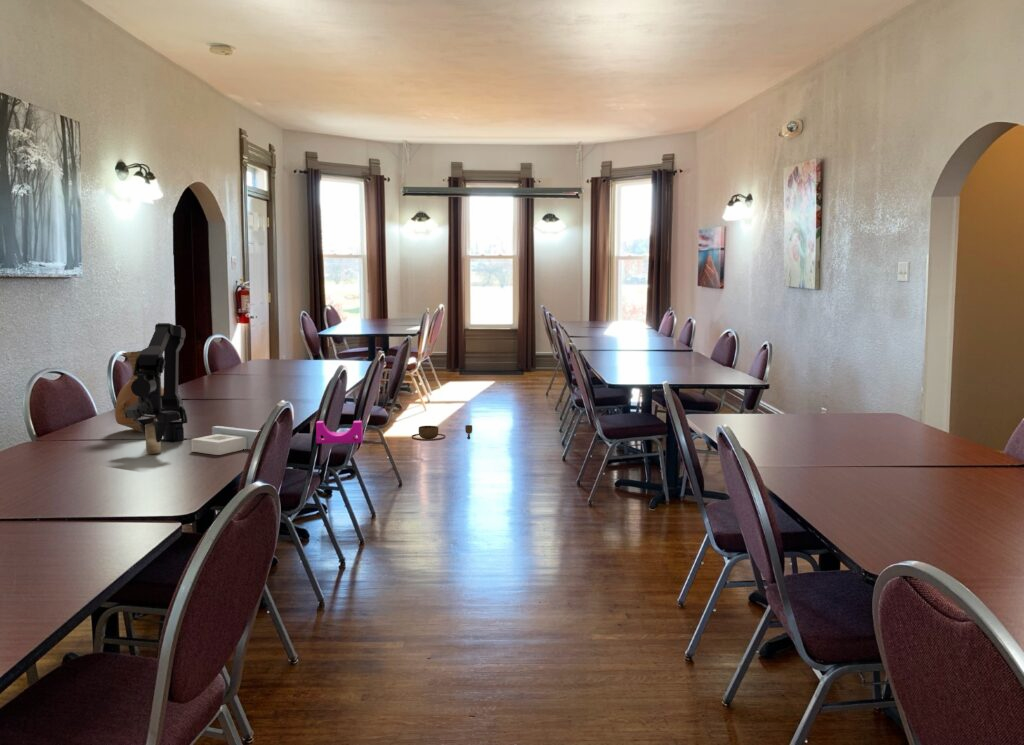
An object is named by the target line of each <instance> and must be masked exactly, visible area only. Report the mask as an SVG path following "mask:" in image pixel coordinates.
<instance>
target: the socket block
mask: <svg viewBox="0 0 1024 745" xmlns="http://www.w3.org/2000/svg"><path fill="white" fill-rule="evenodd" d="M190 441H191V452H192V453H193V452H195V453H200V454H209V455H214V456H221V455H225V454H230V453H234V452H238V451H243V449H244V450H248V449H247V437H245V436H236V435H228V434H215V435H212V434H211V435H206V436H202V437H196V438H192V439H191V440H190Z"/></svg>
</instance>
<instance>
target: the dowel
mask: <svg viewBox="0 0 1024 745" xmlns="http://www.w3.org/2000/svg"><path fill="white" fill-rule="evenodd" d="M145 436H146V438H145V448H146V449H145V451H146V454H148V455H149V454H150V455H152V454H153V455H154V454H161V453H162V441H160V442H157V440H156V433H155V426H154V425H153V424H152V423H150V424H145ZM145 436H144V437H145Z"/></svg>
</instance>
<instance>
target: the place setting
mask: <svg viewBox="0 0 1024 745" xmlns="http://www.w3.org/2000/svg"><path fill="white" fill-rule="evenodd" d="M464 429H465V433H466V434H467V437H466V438H467V440H470V439H471V434H472V432H473V425H471V424H468V425H466V424H465V426H464ZM417 436H419V437H420V438H418V437H417ZM438 436H442V437H438ZM446 437H447V436H446V435H445V434H444V433H443V434H442V433H439V426H436V425H420V426H419V427H418V433H414V434H412V435H411V439H412V440H414V441H419V442H433V441H441V440H445V439H446Z"/></svg>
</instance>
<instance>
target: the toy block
mask: <svg viewBox="0 0 1024 745" xmlns="http://www.w3.org/2000/svg"><path fill="white" fill-rule="evenodd" d="M315 423H316V425H315V427H316V430H315V431H316V435H315V436H316V437H315V438H316V444H361V443H362V442H363V440H364V427H363V420H353V422H352V426H351V427H350V428H349V429H348V430H347V431H344V432H336V431H331V430H329V429H328V427H327V426H326V425H325V420H317V421H316V422H315ZM321 436H323V438H322V437H321Z"/></svg>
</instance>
